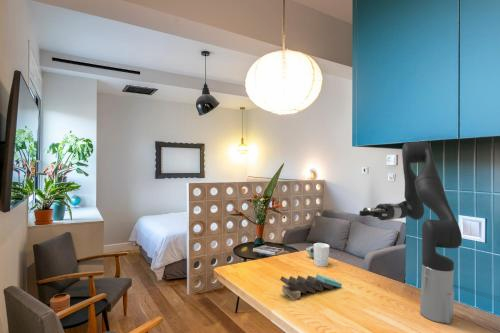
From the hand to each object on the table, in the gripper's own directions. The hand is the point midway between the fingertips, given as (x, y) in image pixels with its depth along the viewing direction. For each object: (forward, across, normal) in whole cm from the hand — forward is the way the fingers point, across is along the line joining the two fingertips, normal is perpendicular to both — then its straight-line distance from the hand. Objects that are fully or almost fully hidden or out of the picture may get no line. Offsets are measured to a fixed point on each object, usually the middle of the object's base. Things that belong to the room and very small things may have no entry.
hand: (360, 213), depth 130 cm
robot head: (0, -32, +30) cm, 44 cm away
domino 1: (+30, 0, +29) cm, 42 cm away
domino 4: (+17, 0, +29) cm, 34 cm away
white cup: (+2, -23, +30) cm, 38 cm away
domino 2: (+26, 0, +29) cm, 39 cm away
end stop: (+35, 0, +30) cm, 46 cm away
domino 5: (+12, 0, +29) cm, 32 cm away
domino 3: (+22, 0, +29) cm, 36 cm away
